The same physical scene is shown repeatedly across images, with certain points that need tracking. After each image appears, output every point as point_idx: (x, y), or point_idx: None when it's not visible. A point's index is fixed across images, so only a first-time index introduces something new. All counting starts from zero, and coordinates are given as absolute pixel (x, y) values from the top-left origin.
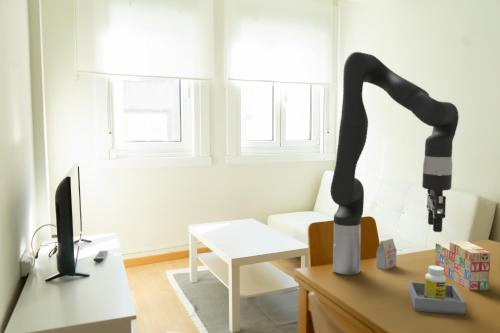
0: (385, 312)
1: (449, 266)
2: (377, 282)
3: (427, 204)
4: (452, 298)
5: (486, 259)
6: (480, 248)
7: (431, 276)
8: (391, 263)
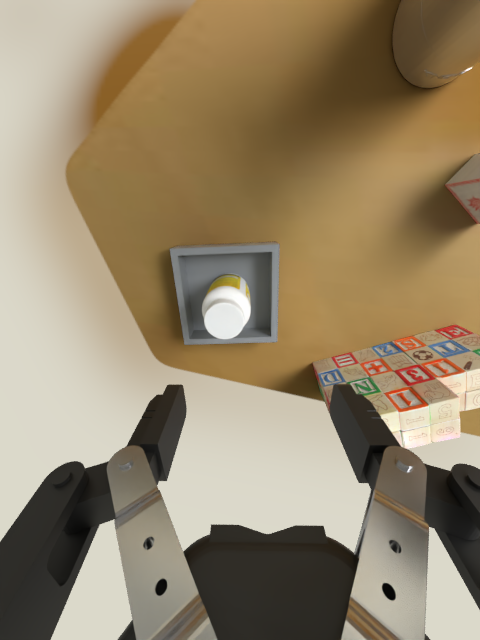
0: (140, 176)
1: (404, 354)
2: (333, 157)
3: (386, 518)
4: (252, 326)
5: None
6: None
7: (210, 301)
8: (476, 206)
